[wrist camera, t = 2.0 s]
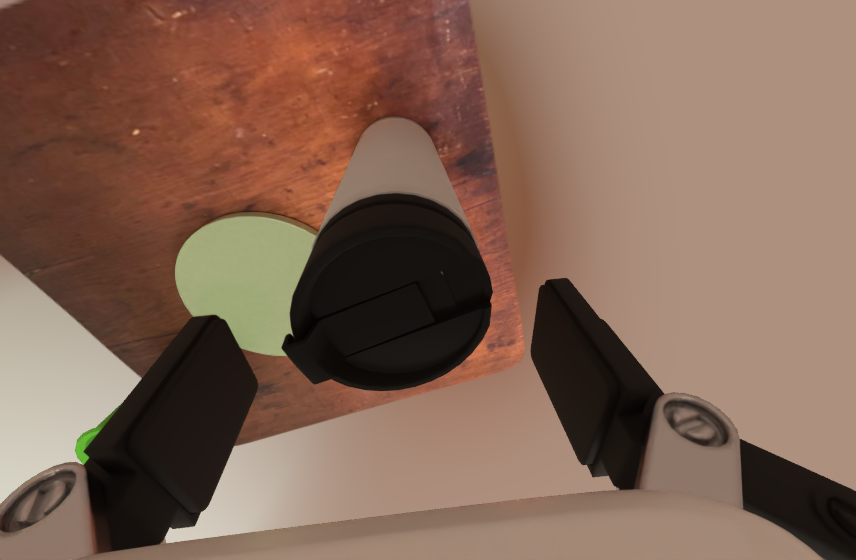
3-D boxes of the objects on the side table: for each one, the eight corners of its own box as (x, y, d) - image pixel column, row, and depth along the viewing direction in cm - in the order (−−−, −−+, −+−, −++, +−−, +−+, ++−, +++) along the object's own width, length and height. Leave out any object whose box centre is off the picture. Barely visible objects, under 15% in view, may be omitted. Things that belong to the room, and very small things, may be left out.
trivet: (144, 221, 27) (136, 226, 26) (339, 202, 28) (337, 207, 27) (224, 356, 36) (219, 363, 35) (370, 341, 37) (370, 347, 36)
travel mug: (337, 137, 25) (221, 294, 8) (419, 101, 24) (470, 198, 7) (373, 210, 28) (342, 425, 12) (446, 181, 27) (523, 369, 11)
